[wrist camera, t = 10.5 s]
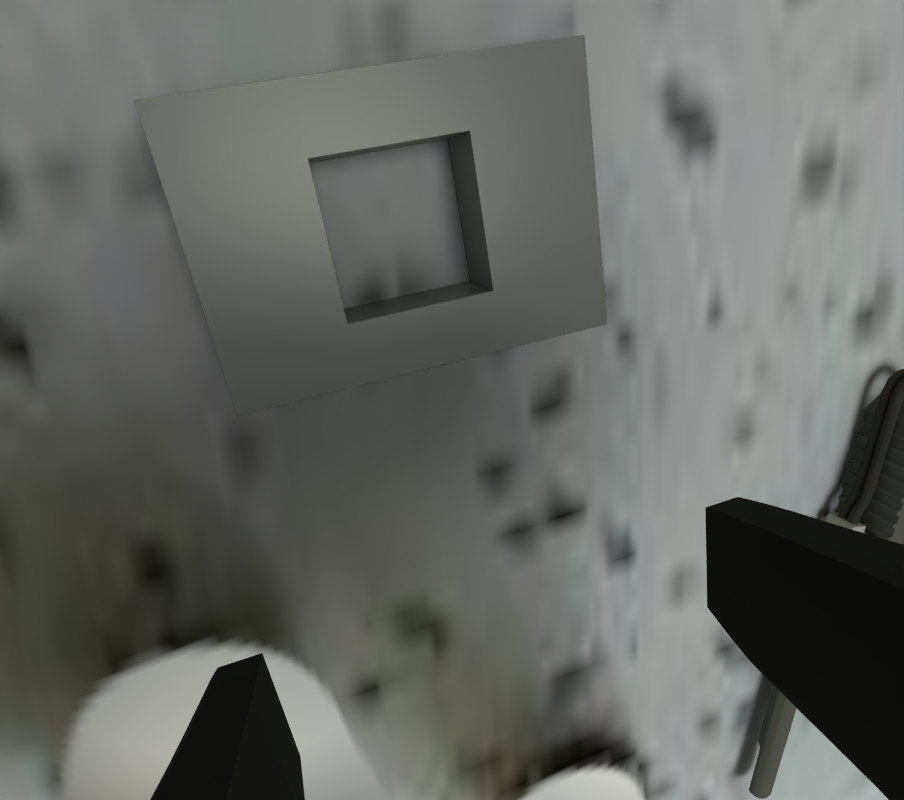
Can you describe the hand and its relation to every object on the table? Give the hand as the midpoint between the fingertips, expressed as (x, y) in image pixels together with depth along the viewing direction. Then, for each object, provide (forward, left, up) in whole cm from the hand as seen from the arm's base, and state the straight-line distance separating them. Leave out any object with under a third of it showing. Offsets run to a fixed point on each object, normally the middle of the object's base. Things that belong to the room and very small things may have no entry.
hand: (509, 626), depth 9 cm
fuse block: (+1, +6, -9) cm, 11 cm away
